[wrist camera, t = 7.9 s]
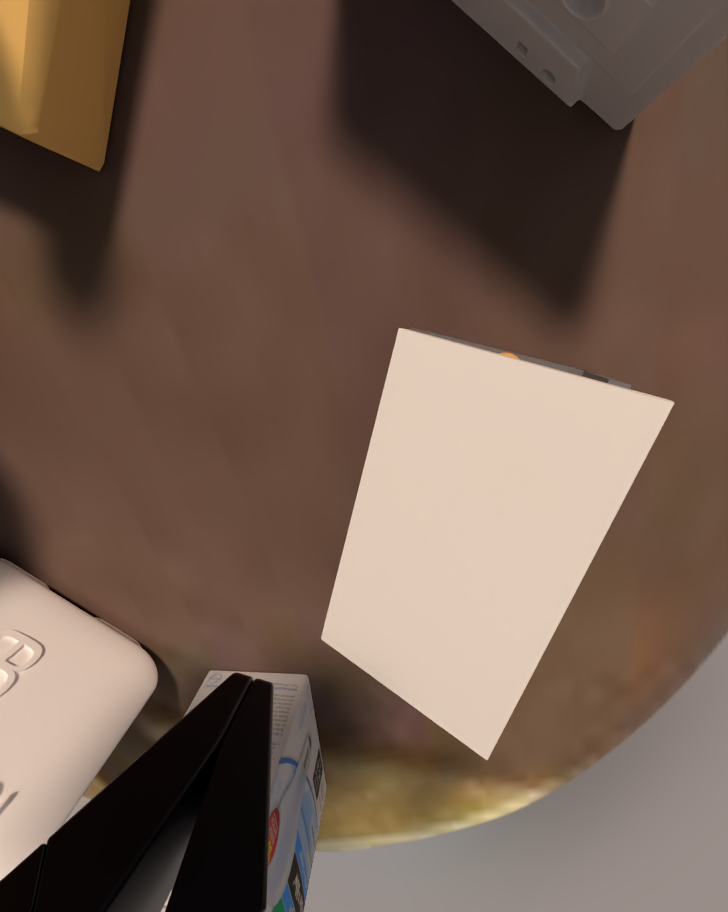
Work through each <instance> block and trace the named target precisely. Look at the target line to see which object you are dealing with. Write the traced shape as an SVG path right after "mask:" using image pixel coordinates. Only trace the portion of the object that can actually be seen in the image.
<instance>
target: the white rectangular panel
mask: <svg viewBox="0 0 728 912" xmlns="http://www.w3.org/2000/svg"><path fill="white" fill-rule="evenodd" d="M673 405H674V402H672V401H671V400H667V399H664V398H660V397H656V396H653V395H649V394H645V393H642V392H638V391H634V390H631V389H627V388H623V387H619V386H616V385H612V384H608V383H605V382H601V381H597V380H594V379H590V378H586V377H583V376H579V375H575V374H571V373H568V372H564V371H560V370H557V369H553V368H549V367H546V366H542V365H538V364H535V363H531V362H527V361H523V360H520V359H516V358H512V357H509V356H505V355H501V354H498V353H494V352H490V351H487V350H483V349H479V348H475V347H472V346H468V345H464V344H461V343H457V342H453V341H450V340H446V339H442V338H439V337H435V336H431V335H428V334H424V333H420V332H416V331H413V330H409V329H403V328H399V330H398V334H397V338H396V342H395V346H394V350H393V354H392V358H391V362H390V366H389V370H388V374H387V378H386V382H385V386H384V390H383V393H382V397H381V401H380V405H379V409H378V413H377V417H376V421H375V425H374V429H373V433H372V437H371V441H370V445H369V449H368V453H367V457H366V461H365V465H364V469H363V473H362V477H361V481H360V485H359V489H358V493H357V497H356V501H355V505H354V509H353V513H352V517H351V521H350V525H349V529H348V533H347V537H346V541H345V545H344V549H343V553H342V557H341V561H340V565H339V569H338V573H337V577H336V581H335V585H334V589H333V593H332V597H331V601H330V605H329V609H328V613H327V617H326V621H325V625H324V629H323V633H322V637H321V639H322V640H323V641H324V642H326V643H327V644H328V645H330V646H331V647H333V648H334V649H335V650H337V651H338V652H339V653H341V654H342V655H343V656H345V657H346V658H348V659H349V660H350V661H352V662H353V663H354V664H356V665H357V666H359V667H360V668H361V669H363V670H364V671H365V672H367V673H368V674H369V675H371V676H372V677H374V678H375V679H376V680H378V681H379V682H380V683H382V684H383V685H384V686H386V687H387V688H389V689H390V690H391V691H393V692H394V693H395V694H397V695H398V696H400V697H401V698H402V699H404V700H405V701H406V702H408V703H409V704H410V705H412V706H413V707H415V708H416V709H417V710H419V711H420V712H421V713H423V714H424V715H426V716H427V717H428V718H430V719H431V720H432V721H434V722H435V723H436V724H438V725H439V726H441V727H442V728H443V729H445V730H446V731H447V732H449V733H450V734H452V735H453V736H454V737H456V738H457V739H458V740H460V741H461V742H462V743H464V744H465V745H467V746H468V747H469V748H471V749H472V750H473V751H475V752H476V753H477V754H479V755H480V756H482V757H483V758H484V759H486V760H488V758H489V756H490V754H491V752H492V750H493V749H494V747H495V745H496V743H497V741H498V739H499V737H500V735H501V733H502V731H503V729H504V728H505V726H506V724H507V722H508V720H509V718H510V716H511V714H512V712H513V710H514V708H515V707H516V705H517V703H518V701H519V699H520V697H521V695H522V693H523V691H524V689H525V687H526V685H527V684H528V682H529V680H530V678H531V676H532V674H533V672H534V670H535V668H536V666H537V664H538V663H539V661H540V659H541V657H542V655H543V653H544V651H545V649H546V647H547V645H548V643H549V642H550V640H551V638H552V636H553V634H554V632H555V630H556V628H557V626H558V624H559V622H560V621H561V619H562V617H563V615H564V613H565V611H566V609H567V607H568V605H569V603H570V601H571V599H572V598H573V596H574V594H575V592H576V590H577V588H578V586H579V584H580V582H581V580H582V578H583V577H584V575H585V573H586V571H587V569H588V567H589V565H590V563H591V561H592V559H593V557H594V556H595V554H596V552H597V550H598V548H599V546H600V544H601V542H602V540H603V538H604V536H605V535H606V533H607V531H608V529H609V527H610V525H611V523H612V521H613V519H614V517H615V515H616V514H617V512H618V510H619V508H620V506H621V504H622V502H623V500H624V498H625V496H626V494H627V492H628V491H629V489H630V487H631V485H632V483H633V481H634V479H635V477H636V475H637V473H638V471H639V470H640V468H641V466H642V464H643V462H644V460H645V458H646V456H647V454H648V452H649V450H650V449H651V447H652V445H653V443H654V441H655V439H656V437H657V435H658V433H659V431H660V429H661V428H662V426H663V424H664V422H665V420H666V418H667V416H668V414H669V412H670V410H671V408H672V407H673Z"/></svg>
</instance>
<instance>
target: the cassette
mask: <svg viewBox="0 0 728 912" xmlns="http://www.w3.org/2000/svg"><path fill="white" fill-rule="evenodd" d="M452 1H453V2H454V3H455V4H456V5H457V6H458V7H459V8H461V9H462V10H463V11H464V12H465V13H466V14H467V15H468V16H469V17H470V18H472V19H473V20H474V21H475V22H476V23H477V24H478V25H479V26H480V27H482V28H483V29H484V30H485V31H486V32H487V33H488V34H489V35H490V36H492V37H493V38H494V39H495V40H496V41H497V42H498V43H499V44H500V45H502V46H503V47H504V48H505V49H506V50H507V51H508V52H509V53H510V54H511V55H513V56H514V57H515V58H516V59H517V60H518V61H519V62H520V63H521V64H523V65H524V66H525V67H526V68H527V69H528V70H529V71H530V72H531V73H533V74H534V75H535V76H536V77H537V78H538V79H539V80H540V81H541V82H542V83H544V84H545V85H546V86H547V87H548V88H549V89H550V90H551V91H552V92H554V93H555V94H556V95H557V96H558V97H559V98H560V99H561V100H562V101H564V102H565V103H566V104H567V105H568V106H569V107H571V106H572V105H573V104H574V103H576V102H577V101H578V100H581V101H582V102H584V103H585V104H586V105H587V106H589V107H590V108H591V109H592V110H593V111H594V112H595V113H596V114H597V115H599V116H600V117H601V118H602V119H603V120H604V121H605V122H606V123H607V124H609V125H610V126H611V127H612V128H613V129H615V130H621V129H623V128H624V127H625V126H626V125H627V124H629V123H630V122H631V121H632V120H633V119H634V118H635V117H637V116H638V115H639V114H640V113H641V112H642V111H643V110H645V109H646V108H647V107H648V106H649V105H650V104H651V103H653V102H654V101H655V100H656V99H657V98H658V97H659V96H660V95H661V94H662V93H663V92H665V91H666V90H667V89H668V88H669V87H670V86H671V85H673V84H674V83H675V82H676V81H677V80H678V79H679V78H680V77H682V76H683V75H684V74H685V73H686V72H687V71H688V70H690V69H691V68H692V67H693V66H694V65H695V64H696V63H698V62H699V61H700V60H701V59H702V58H703V57H704V56H705V55H707V54H708V53H709V52H710V51H711V50H712V49H713V48H715V47H716V46H717V45H718V44H719V43H720V42H721V41H722V40H724V39H725V38H726V37H727V36H728V0H452Z"/></svg>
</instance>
